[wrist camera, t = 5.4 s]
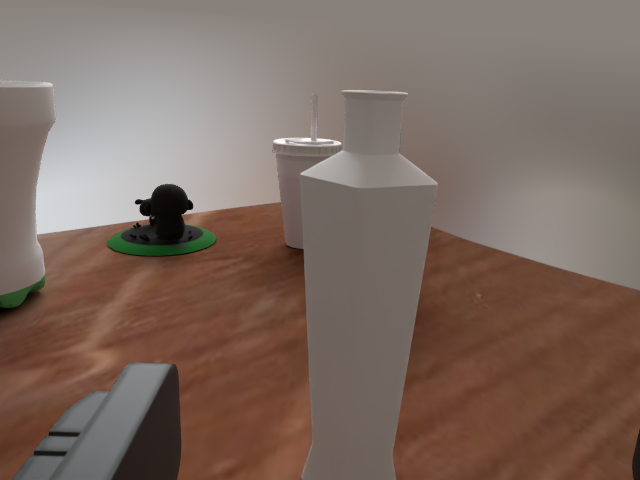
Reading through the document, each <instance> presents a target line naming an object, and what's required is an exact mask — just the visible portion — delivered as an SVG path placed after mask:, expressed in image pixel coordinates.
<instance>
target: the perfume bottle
mask: <svg viewBox="0 0 640 480" xmlns="http://www.w3.org/2000/svg"><path fill="white" fill-rule="evenodd" d="M341 92H342V94H343V95H344V97H345V98H346V101H345V122H344V143H343V150H342V151H341V152H339V153H337V154H335V155H333V156H331V157H329V158H328V159H326V160H324V161H322V162H320V163H318V164H317V165H315V166H313V167H311V168H309V169H307V170H306V171H304V172H302V173H300V182H301V204H302V226H303V248H304V269H305V291H306V313H307V335H308V356H309V378H310V400H311V422H312V446H311V449H310V452H309V455H308V458H307V461H306V464H305V467H304V469H303V472H302V475H301V478H302V480H396V475H395V470H394V464H393V458H392V454H393V448H394V442H395V436H396V430H397V424H398V418H399V413H400V407H401V401H402V395H403V389H404V383H405V377H406V371H407V365H408V359H409V354H410V348H411V342H412V336H413V330H414V324H415V318H416V312H417V306H418V300H419V295H420V289H421V283H422V277H423V271H424V265H425V259H426V253H427V247H428V242H429V236H430V230H431V224H432V218H433V212H434V206H435V200H436V194H437V188H438V183H437V182H436V181H434V180H433V179H432V178H431V177H429V176H428V175H427V174H425V173H424V172H423V171H421V170H420V169H419V168H418V167H416V166H415V165H414V164H412V163H411V162H410V161H408V160H407V159H406V158H404V157H403V156H402V155H401V154H399V149H400V135H401V122H402V109H403V100H404V99H405V98H406V97H407V95H408V93H403V92H389V91H366V90H342V91H341Z"/></svg>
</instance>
